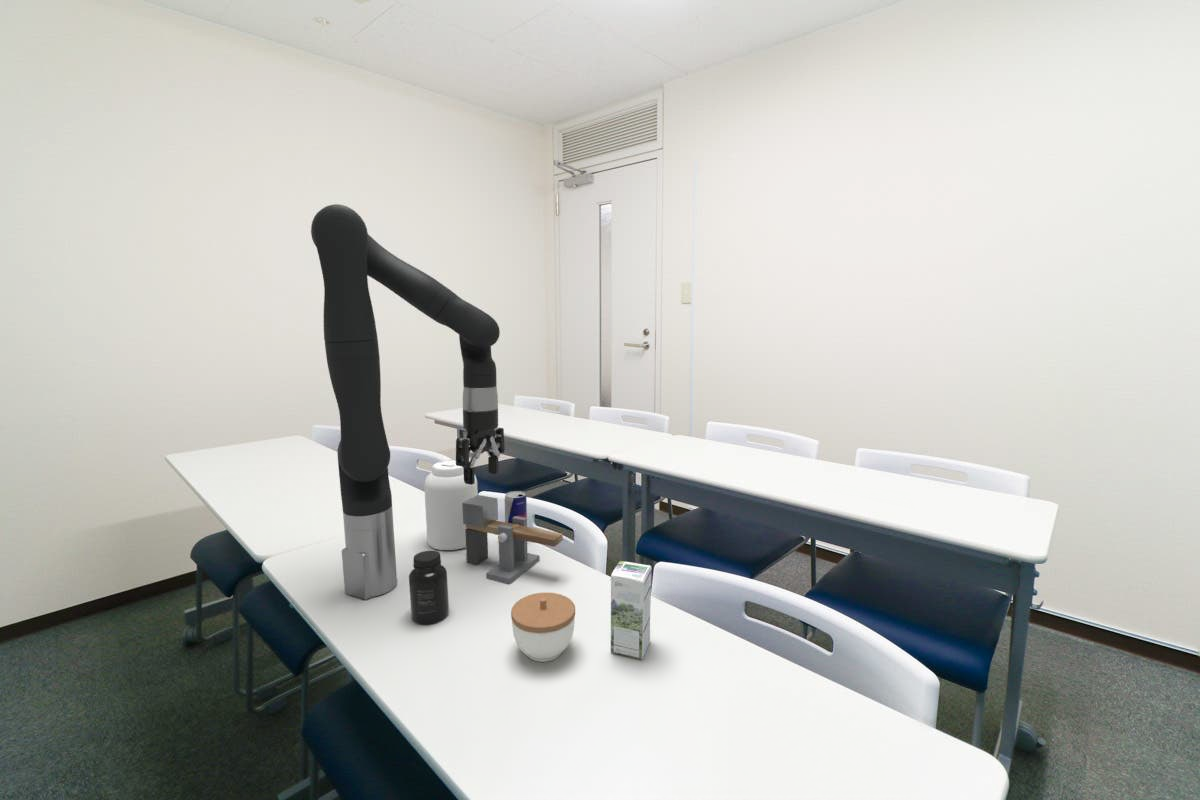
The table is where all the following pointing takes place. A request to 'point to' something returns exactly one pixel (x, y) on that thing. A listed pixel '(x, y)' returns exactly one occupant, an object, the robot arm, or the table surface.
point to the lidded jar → (543, 625)
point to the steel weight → (480, 511)
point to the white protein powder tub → (447, 505)
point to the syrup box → (630, 609)
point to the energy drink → (515, 505)
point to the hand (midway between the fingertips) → (481, 478)
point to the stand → (501, 552)
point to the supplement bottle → (428, 588)
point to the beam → (524, 533)
